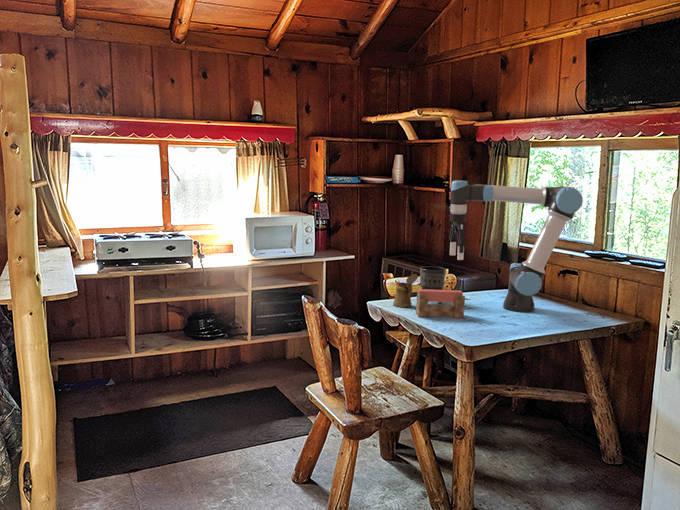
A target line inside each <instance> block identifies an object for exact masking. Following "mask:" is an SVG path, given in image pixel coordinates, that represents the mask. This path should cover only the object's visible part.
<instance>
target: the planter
mask: <svg viewBox="0 0 680 510" xmlns="http://www.w3.org/2000/svg"><path fill="white" fill-rule="evenodd" d="M419 269H420V271H419V286H420V289H425V290H444V287H445V279H446V272H447V270H446V268H444V267H441V266H432V265H431V266H429V265H428V266H425V265H424V266H421V267H420V268H419ZM437 304H438V305H443V302H437Z"/></svg>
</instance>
